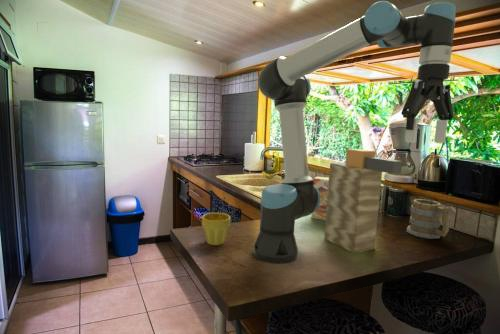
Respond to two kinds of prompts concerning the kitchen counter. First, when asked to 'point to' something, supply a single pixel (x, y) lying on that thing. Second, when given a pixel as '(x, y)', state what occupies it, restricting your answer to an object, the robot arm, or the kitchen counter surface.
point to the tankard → (428, 219)
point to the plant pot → (215, 227)
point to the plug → (371, 161)
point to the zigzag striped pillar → (352, 207)
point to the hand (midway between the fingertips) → (425, 142)
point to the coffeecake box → (321, 197)
